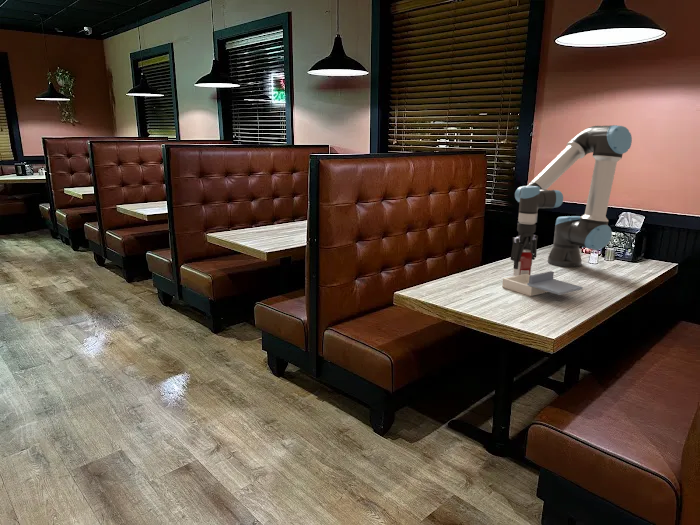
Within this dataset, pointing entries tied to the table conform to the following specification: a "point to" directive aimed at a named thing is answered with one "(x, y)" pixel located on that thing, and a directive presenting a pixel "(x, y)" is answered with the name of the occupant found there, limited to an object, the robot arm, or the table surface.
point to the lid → (551, 283)
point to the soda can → (525, 262)
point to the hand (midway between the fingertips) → (521, 274)
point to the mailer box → (521, 285)
